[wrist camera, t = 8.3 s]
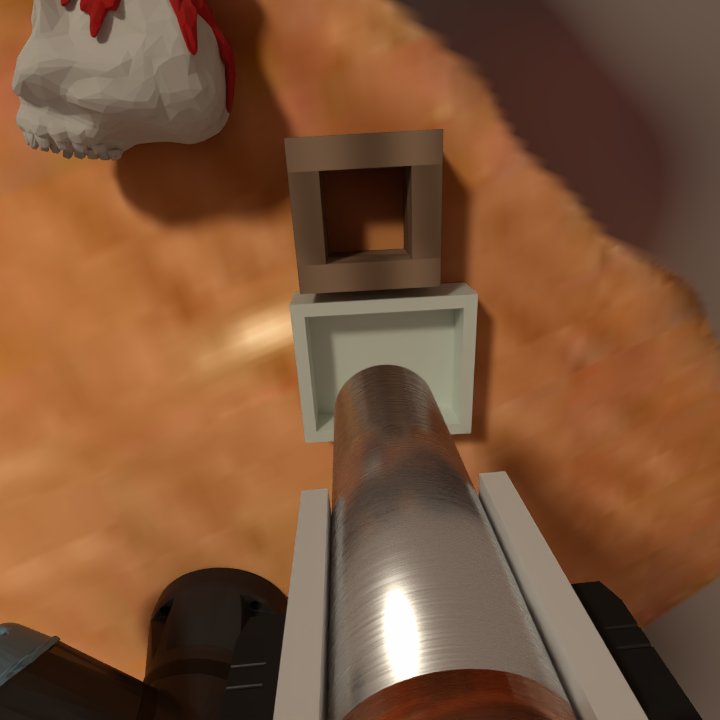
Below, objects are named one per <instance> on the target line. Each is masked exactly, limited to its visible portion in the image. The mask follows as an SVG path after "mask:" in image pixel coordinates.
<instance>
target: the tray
mask: <svg viewBox="0 0 720 720" xmlns="http://www.w3.org/2000/svg"><path fill="white" fill-rule="evenodd" d="M477 305H478V294H477V293H476V292H475V291H474V290H473V289H472V288H471V287H470V286H469V285H467V284H466V283H465V282H461V283H443V284H441V286H437V287H420V288H402V289H385V290H367V291H350V292H332V293H315V294H300V292H295V294H294V296H293V298H292V301H291V303H290V313H291V322H292V330H293V339H294V348H295V356H296V365H297V374H298V382H299V391H300V399H301V408H302V417H303V425H304V434H305V442H306V443H311V442H328V441H334V408H335V402H336V398H337V396H338V393H339V391H340V390H341V388H342V387H343V385H344V384H345V383H346V382H347V381H348V380H349V379H350V378H351V377H352V376H354V375H355V374H356V373H358V372H360V371H361V370H364V369H366V368H369V367H372V366H377V365H397V366H401V367H404V368H407V369H409V370H411V371H413V372H415V373H416V374H418V375H419V376H420V377H421V378H423V379H424V381H425V382H426V383H427V384H428V386H429V387H430V389H431V391H432V394H433V396H434V398H435V400H436V403H437V405H438V407H439V409H440V412H441V414H442V416H443V418H444V421H445V423H446V425H447V427H448V430H449V432H450V434H466V433H471V424H472V404H473V384H474V365H475V345H476V325H477Z"/></svg>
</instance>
